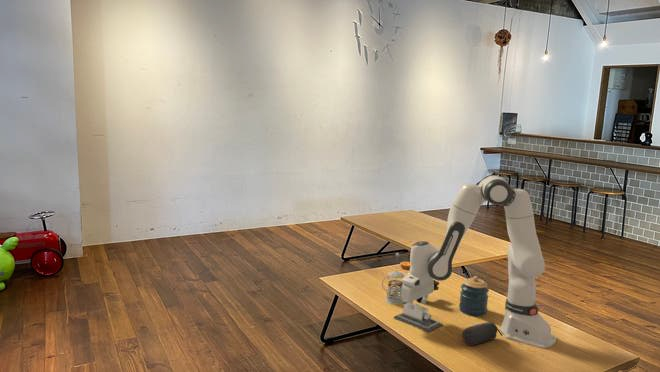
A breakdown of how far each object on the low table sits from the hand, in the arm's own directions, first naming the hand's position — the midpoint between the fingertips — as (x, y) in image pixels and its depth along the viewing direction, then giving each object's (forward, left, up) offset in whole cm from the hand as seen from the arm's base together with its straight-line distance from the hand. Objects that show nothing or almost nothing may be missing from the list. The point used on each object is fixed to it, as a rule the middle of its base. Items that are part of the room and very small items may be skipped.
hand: (417, 306), depth 220 cm
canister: (-11, -31, -8) cm, 33 cm away
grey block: (+1, 0, -6) cm, 6 cm away
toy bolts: (+44, -61, -8) cm, 76 cm away
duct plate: (-1, 0, -7) cm, 7 cm away
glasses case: (-30, -3, -8) cm, 31 cm away
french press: (+22, -11, -8) cm, 26 cm away
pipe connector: (+12, -25, -8) cm, 28 cm away
